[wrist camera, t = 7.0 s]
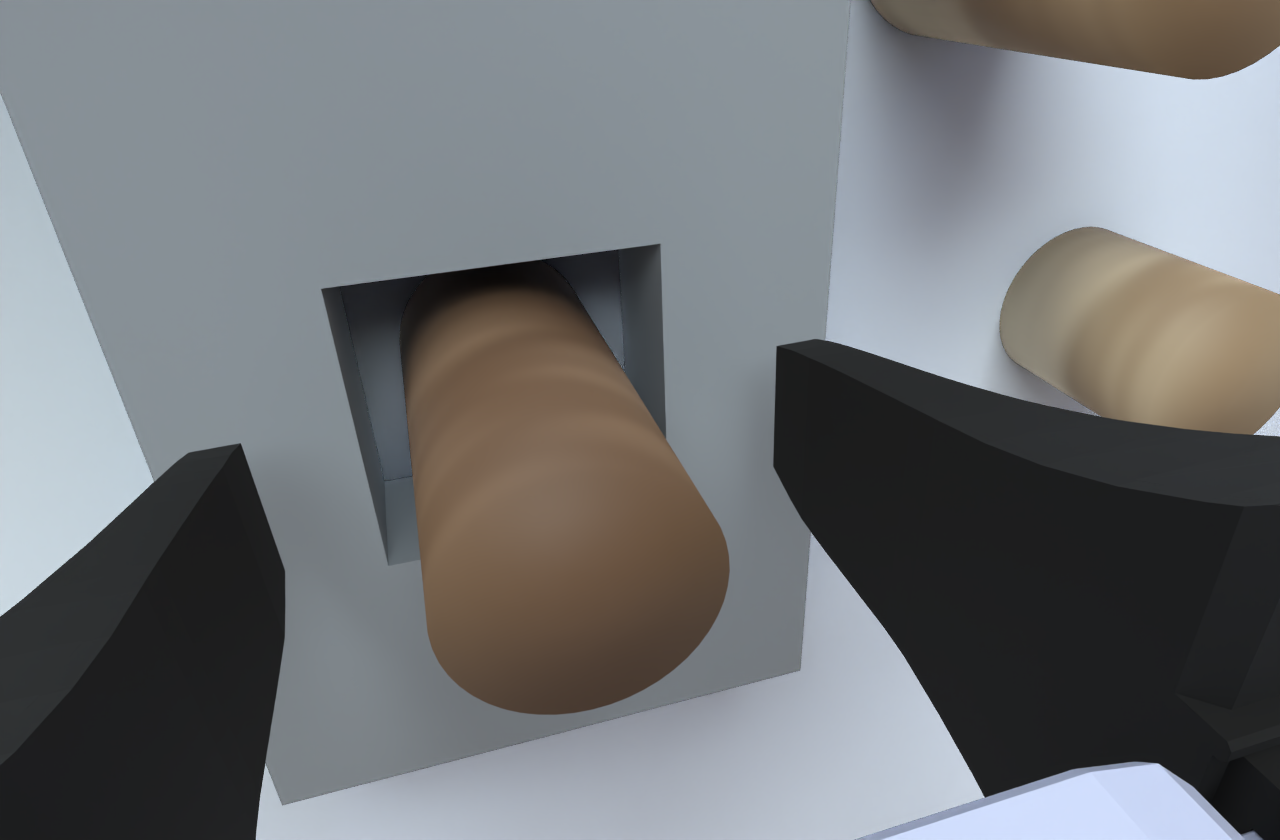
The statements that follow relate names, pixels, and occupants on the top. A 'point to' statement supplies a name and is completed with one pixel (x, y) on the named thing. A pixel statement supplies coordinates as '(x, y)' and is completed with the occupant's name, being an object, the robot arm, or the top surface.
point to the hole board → (428, 244)
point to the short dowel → (1145, 334)
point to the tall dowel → (546, 500)
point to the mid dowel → (1105, 30)
